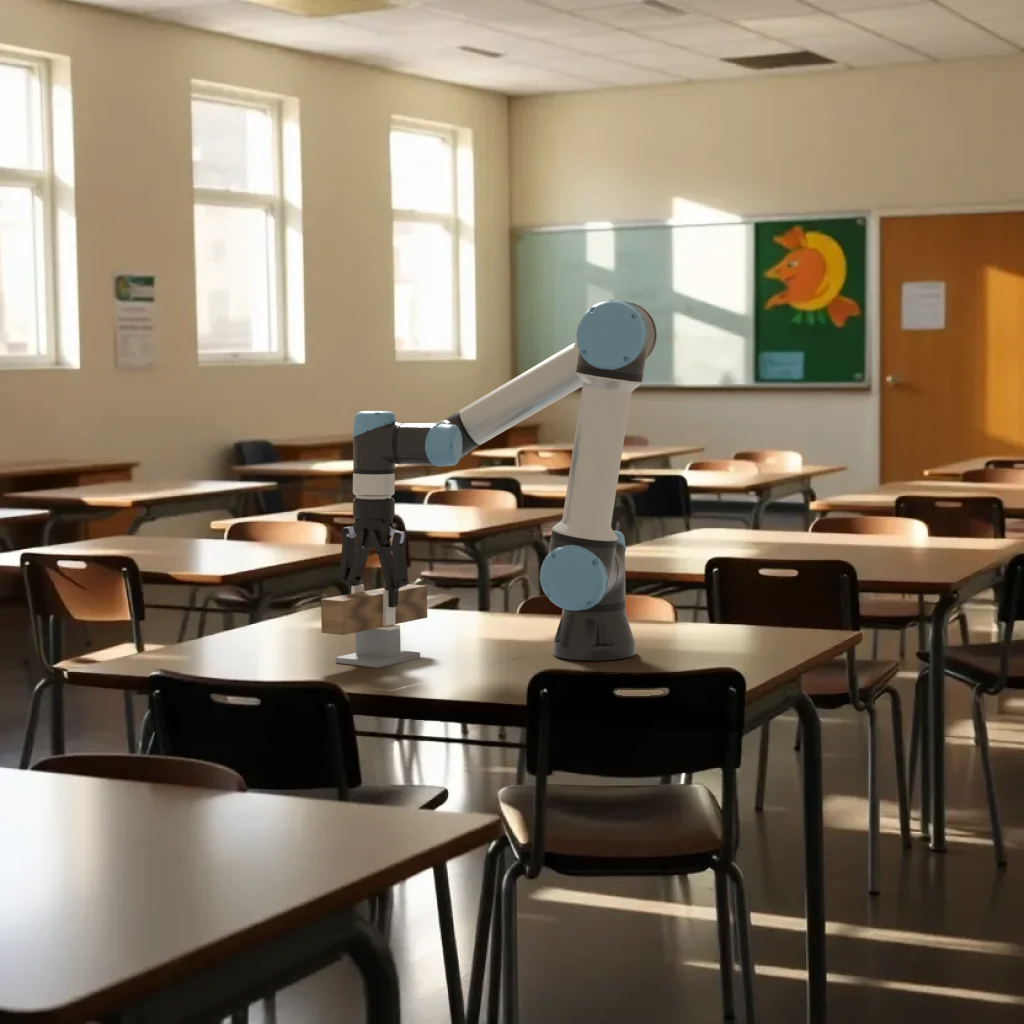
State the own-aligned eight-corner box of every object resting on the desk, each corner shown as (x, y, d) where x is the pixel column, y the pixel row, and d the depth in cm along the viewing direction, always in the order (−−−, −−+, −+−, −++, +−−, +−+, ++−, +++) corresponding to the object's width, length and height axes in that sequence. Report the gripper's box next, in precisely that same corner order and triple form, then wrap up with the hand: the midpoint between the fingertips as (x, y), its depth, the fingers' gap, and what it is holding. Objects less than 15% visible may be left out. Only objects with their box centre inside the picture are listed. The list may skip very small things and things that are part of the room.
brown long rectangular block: (406, 615, 325) (405, 584, 325) (427, 617, 322) (426, 585, 322) (321, 632, 306) (320, 599, 305) (343, 635, 303) (342, 601, 302)
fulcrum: (420, 657, 317) (419, 622, 316) (378, 667, 307) (377, 631, 306) (378, 653, 322) (377, 618, 322) (335, 662, 313) (334, 627, 312)
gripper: (429, 498, 310) (428, 625, 312) (345, 492, 321) (345, 614, 323) (403, 501, 304) (402, 631, 306) (318, 494, 315) (318, 619, 317)
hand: (373, 622), depth 315 cm, fingers open, 7 cm apart
